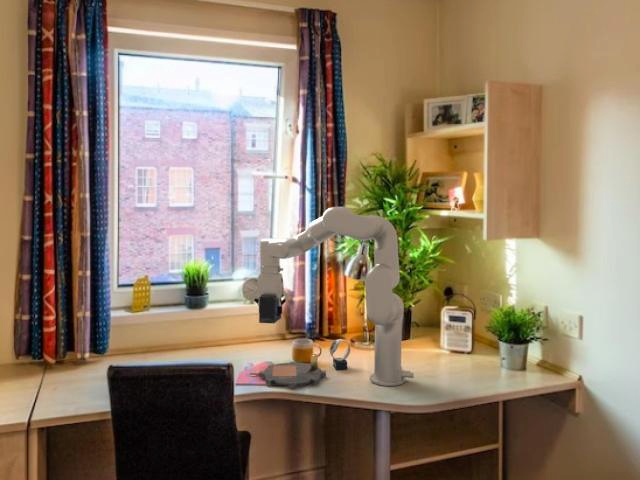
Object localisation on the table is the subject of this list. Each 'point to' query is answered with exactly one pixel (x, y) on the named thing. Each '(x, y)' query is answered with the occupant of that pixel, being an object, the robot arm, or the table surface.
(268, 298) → the small box
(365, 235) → the robot arm
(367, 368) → the table surface
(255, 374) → the stand
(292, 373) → the sprocket
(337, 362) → the watch
